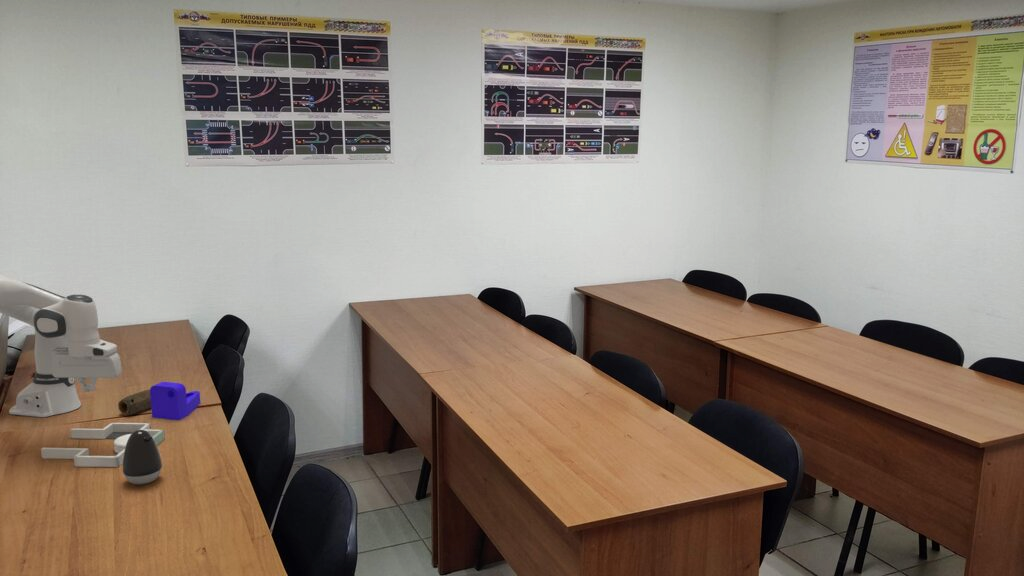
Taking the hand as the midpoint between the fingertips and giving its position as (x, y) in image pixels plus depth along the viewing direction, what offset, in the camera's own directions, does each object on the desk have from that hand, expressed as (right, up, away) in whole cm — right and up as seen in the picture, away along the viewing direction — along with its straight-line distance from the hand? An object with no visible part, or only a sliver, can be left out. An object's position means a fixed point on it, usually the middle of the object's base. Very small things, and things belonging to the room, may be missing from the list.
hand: (88, 390), depth 249 cm
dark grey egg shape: (+26, -23, -20) cm, 40 cm away
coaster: (+12, -19, +3) cm, 23 cm away
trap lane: (+4, -18, +3) cm, 19 cm away
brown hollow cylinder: (-1, -12, +37) cm, 39 cm away
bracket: (+14, -12, +38) cm, 42 cm away
